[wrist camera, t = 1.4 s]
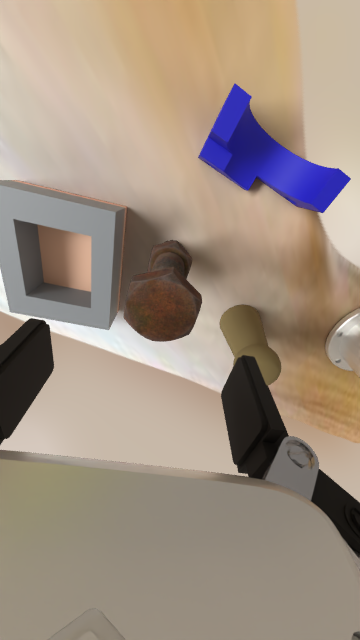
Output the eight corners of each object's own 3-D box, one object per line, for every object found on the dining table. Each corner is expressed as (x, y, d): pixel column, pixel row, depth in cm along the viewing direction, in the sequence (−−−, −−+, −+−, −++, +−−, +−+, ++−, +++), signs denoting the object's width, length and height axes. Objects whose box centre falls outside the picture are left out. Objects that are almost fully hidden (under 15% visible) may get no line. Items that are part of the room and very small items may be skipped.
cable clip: (198, 157, 23) (201, 152, 18) (222, 106, 21) (234, 83, 16) (286, 218, 26) (310, 228, 21) (315, 178, 24) (351, 178, 19)
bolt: (155, 275, 30) (133, 347, 17) (143, 237, 27) (108, 288, 15) (198, 266, 29) (208, 334, 17) (190, 226, 27) (195, 269, 14)
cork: (267, 326, 34) (298, 381, 25) (232, 344, 36) (248, 402, 27) (248, 297, 31) (275, 347, 22) (211, 318, 33) (222, 372, 24)
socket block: (127, 206, 26) (115, 212, 21) (118, 310, 33) (108, 330, 29) (16, 180, 24) (-19, 180, 20) (33, 294, 32) (10, 311, 28)
